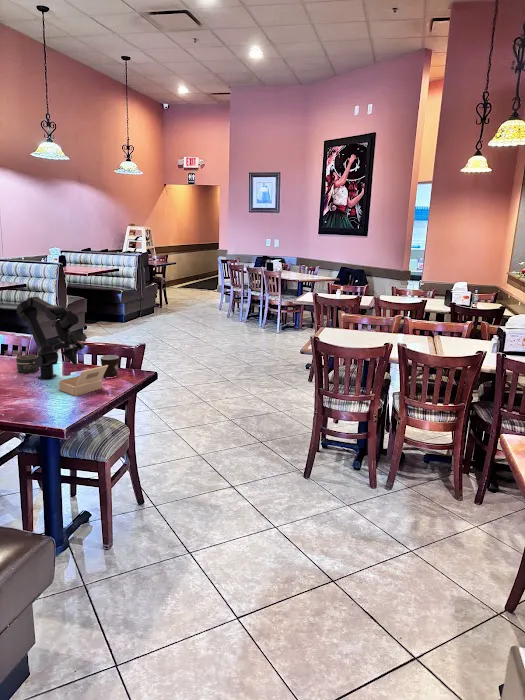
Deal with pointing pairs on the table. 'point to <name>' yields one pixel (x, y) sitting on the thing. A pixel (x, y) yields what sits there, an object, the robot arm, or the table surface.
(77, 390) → the kraft box
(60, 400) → the table surface
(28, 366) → the jar
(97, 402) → the table surface
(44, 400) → the table surface
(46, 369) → the robot arm
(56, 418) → the table surface
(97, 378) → the flap
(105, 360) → the coffee mug
